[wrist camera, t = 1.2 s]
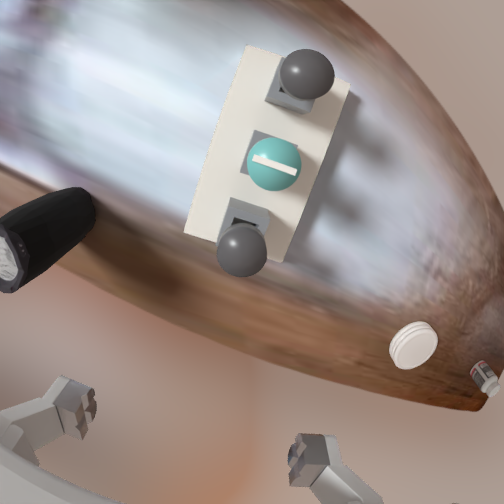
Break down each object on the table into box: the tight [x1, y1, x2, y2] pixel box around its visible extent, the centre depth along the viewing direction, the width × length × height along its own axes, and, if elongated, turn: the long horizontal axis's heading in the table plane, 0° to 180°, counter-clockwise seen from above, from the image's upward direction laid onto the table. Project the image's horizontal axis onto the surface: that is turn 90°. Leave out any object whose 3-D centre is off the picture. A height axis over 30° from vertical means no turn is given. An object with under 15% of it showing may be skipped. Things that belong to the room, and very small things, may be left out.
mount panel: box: [184, 45, 351, 263], centre depth 36 cm, size 26×14×8 cm, turn 161°
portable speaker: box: [0, 187, 96, 293], centre depth 33 cm, size 9×9×20 cm
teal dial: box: [247, 138, 301, 191], centre depth 29 cm, size 5×5×6 cm
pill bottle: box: [470, 360, 500, 397], centre depth 54 cm, size 5×5×10 cm
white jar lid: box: [389, 321, 438, 369], centre depth 51 cm, size 10×10×4 cm
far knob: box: [217, 223, 267, 277], centre depth 32 cm, size 5×5×6 cm
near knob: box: [278, 49, 335, 101], centre depth 26 cm, size 5×5×6 cm
